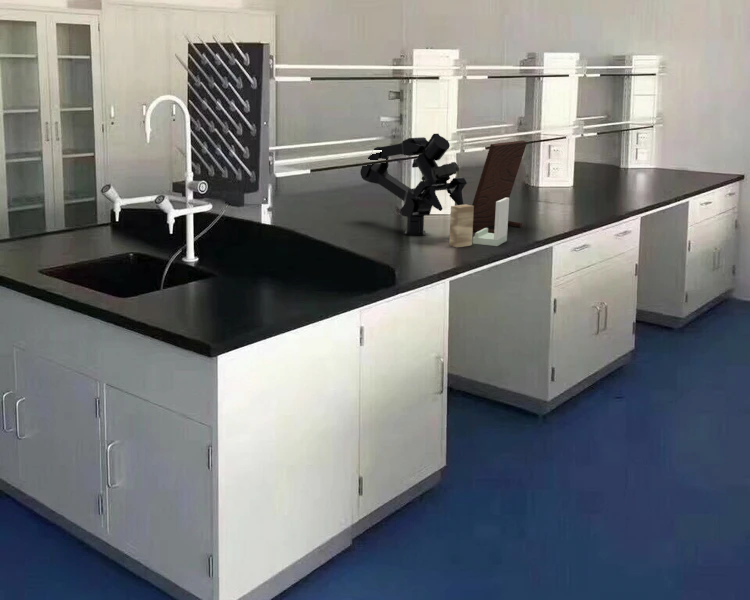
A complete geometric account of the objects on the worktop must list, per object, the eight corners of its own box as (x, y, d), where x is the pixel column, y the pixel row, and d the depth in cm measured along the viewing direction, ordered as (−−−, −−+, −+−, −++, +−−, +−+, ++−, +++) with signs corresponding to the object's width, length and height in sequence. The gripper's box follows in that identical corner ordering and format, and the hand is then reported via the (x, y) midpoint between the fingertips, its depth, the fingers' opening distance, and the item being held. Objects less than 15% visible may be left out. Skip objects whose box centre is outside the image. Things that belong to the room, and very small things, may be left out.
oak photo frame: (448, 245, 284) (450, 206, 281) (463, 243, 288) (465, 204, 285) (456, 247, 281) (458, 207, 278) (471, 245, 285) (473, 205, 282)
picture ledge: (472, 243, 288) (474, 199, 284) (482, 238, 297) (484, 195, 293) (497, 246, 284) (499, 202, 281) (506, 240, 293) (509, 197, 289)
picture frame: (497, 223, 324) (502, 138, 316) (523, 227, 318) (528, 140, 310) (464, 230, 308) (469, 142, 300) (491, 235, 302) (496, 144, 294)
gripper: (420, 155, 279) (443, 195, 274) (464, 152, 290) (486, 190, 285) (403, 177, 287) (425, 217, 282) (446, 174, 298) (468, 211, 293)
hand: (452, 208), depth 285 cm, fingers open, 9 cm apart
